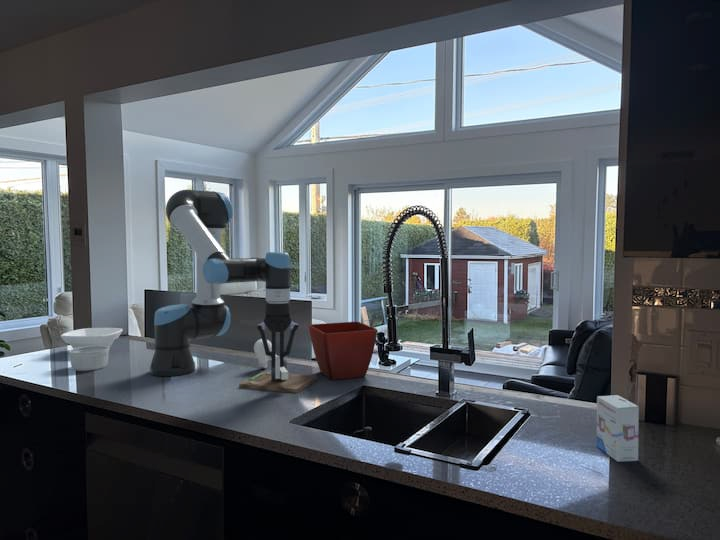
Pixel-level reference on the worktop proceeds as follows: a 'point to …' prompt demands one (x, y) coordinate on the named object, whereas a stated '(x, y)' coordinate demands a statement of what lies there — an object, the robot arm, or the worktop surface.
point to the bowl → (91, 337)
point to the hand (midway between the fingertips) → (277, 377)
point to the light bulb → (262, 353)
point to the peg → (282, 372)
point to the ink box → (617, 427)
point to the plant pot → (343, 348)
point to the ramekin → (89, 357)
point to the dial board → (278, 382)
